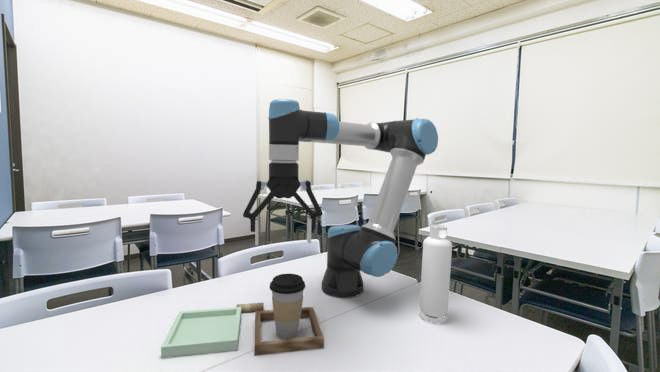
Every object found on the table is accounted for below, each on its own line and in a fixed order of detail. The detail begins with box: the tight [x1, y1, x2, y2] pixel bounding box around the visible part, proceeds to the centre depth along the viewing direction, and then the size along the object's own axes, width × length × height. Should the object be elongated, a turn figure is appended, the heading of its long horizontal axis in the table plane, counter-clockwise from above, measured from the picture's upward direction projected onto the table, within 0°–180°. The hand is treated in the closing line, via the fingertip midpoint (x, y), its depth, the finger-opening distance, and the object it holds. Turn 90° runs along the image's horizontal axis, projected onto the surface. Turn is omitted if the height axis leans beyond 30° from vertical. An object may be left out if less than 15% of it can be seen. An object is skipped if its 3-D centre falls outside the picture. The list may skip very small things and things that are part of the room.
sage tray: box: [160, 306, 242, 359], centre depth 84 cm, size 17×17×3 cm
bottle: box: [418, 223, 453, 324], centre depth 95 cm, size 8×8×28 cm
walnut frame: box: [253, 306, 325, 356], centre depth 85 cm, size 17×17×2 cm
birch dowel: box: [235, 302, 265, 314], centre depth 97 cm, size 8×2×2 cm
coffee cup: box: [269, 273, 306, 340], centre depth 85 cm, size 9×9×15 cm
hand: (283, 243), depth 84 cm, fingers open, 13 cm apart
